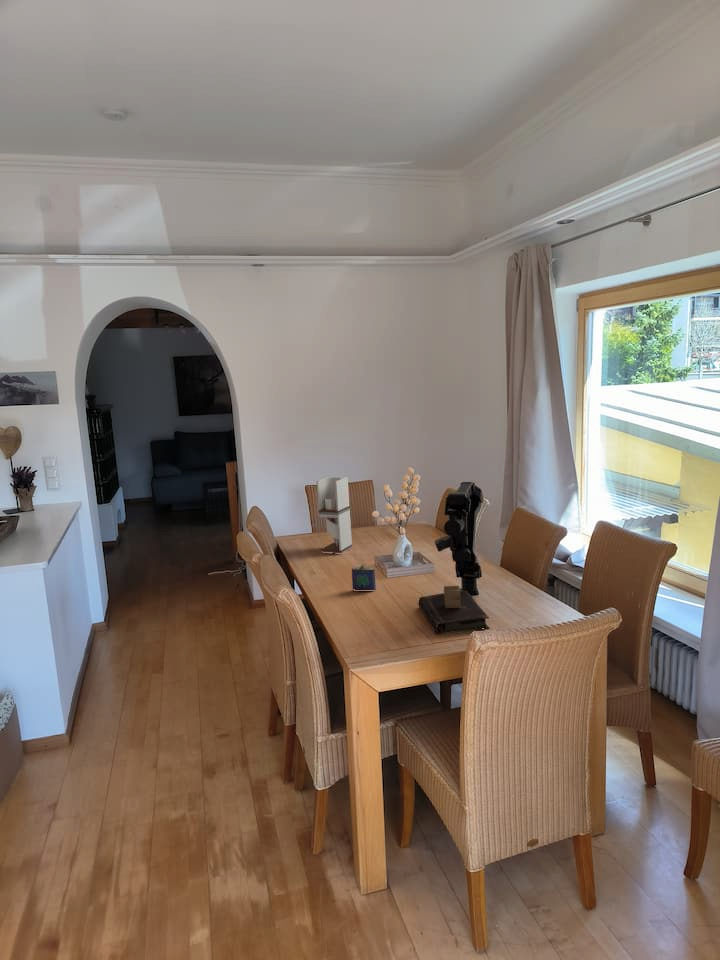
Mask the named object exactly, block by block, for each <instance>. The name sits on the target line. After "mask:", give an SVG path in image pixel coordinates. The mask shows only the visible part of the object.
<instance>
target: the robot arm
mask: <svg viewBox="0 0 720 960" xmlns="http://www.w3.org/2000/svg"><path fill="white" fill-rule="evenodd" d="M483 502H484V494H483V491H482V489H481V488H480V487H478V486H477V485H476V483H475V482H473V481H462V482H460V486H459V487H458V489H456V490H455V491H453V492H450V493H448V495H447V496H446V497H445V505H444V516H448V520H446V522H445V523H444V526H443V530H444V532H445V534H446V535H445V536H443V537H439V538H438V539H435V540H434V545H435V547H436V549H437V552H442V551H444V550H446V549H448V548H449V550H450V552H451V558H452V561H453V562H455V565H454V567H455V577H456V578H458V579H459V578H460V580H461V581H460V582H461V583H460V584H461V587H459V588H460V591H467V592H468V593H469V594H470V595H471V596H472V595H473V596H474V595H479V594H480V592H479V589H478V583H477V582H478V581H477V580H478V579H481V578H482V577H483V574H482V573H483V571H482V567H481V564H480V562H479V559H478V557H477V555H476V553H475V545H476V525H477V514H478V513H479V512H480V510H481V508H482V503H483Z"/></svg>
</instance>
